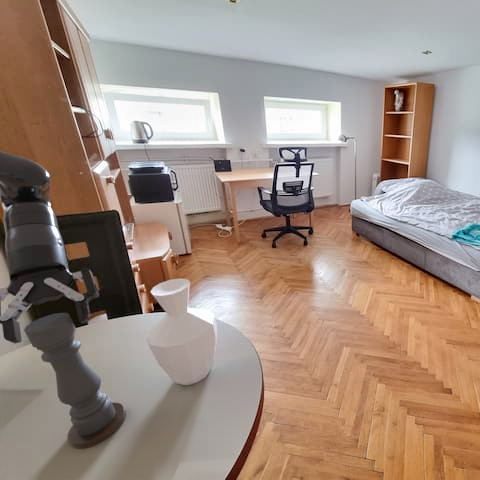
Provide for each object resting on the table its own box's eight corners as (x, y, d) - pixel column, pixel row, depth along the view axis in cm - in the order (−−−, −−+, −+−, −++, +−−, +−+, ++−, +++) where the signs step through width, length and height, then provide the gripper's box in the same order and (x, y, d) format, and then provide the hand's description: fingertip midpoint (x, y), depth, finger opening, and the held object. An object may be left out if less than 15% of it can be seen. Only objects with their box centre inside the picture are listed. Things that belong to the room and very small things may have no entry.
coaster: (57, 451, 55) (54, 446, 55) (92, 409, 64) (89, 404, 63) (107, 445, 56) (105, 440, 56) (135, 404, 65) (133, 400, 64)
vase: (212, 392, 67) (187, 303, 58) (149, 397, 66) (114, 306, 57) (232, 349, 81) (215, 270, 71) (180, 352, 80) (156, 273, 71)
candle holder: (98, 435, 57) (46, 334, 47) (67, 435, 57) (10, 334, 48) (123, 407, 62) (80, 311, 53) (95, 407, 62) (48, 311, 53)
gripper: (91, 251, 62) (107, 320, 58) (-9, 271, 54) (2, 353, 50) (80, 235, 56) (97, 311, 52) (-34, 254, 48) (-24, 345, 44)
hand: (51, 331), depth 51 cm, fingers open, 8 cm apart
